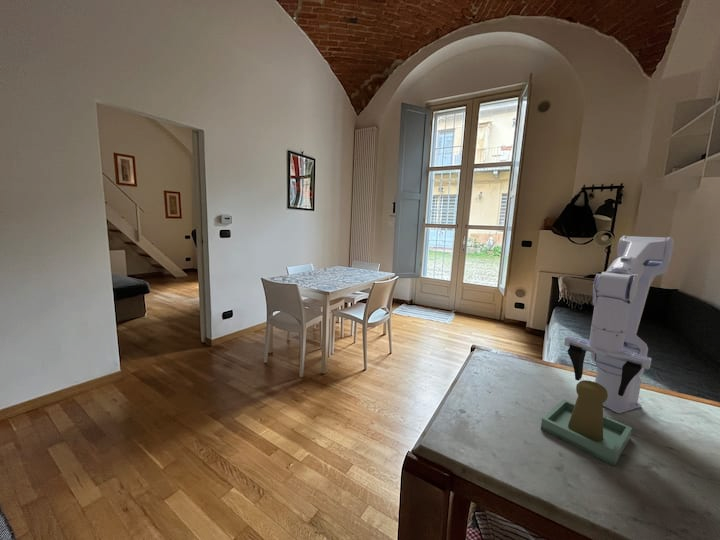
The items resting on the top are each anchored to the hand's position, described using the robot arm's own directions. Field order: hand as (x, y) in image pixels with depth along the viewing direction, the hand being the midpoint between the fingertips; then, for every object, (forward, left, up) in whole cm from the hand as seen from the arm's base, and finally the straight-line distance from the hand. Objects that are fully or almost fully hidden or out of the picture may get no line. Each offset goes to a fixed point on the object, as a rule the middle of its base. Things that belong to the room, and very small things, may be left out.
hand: (598, 386), depth 66 cm
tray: (+5, +2, -9) cm, 11 cm away
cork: (+6, +2, -9) cm, 11 cm away
